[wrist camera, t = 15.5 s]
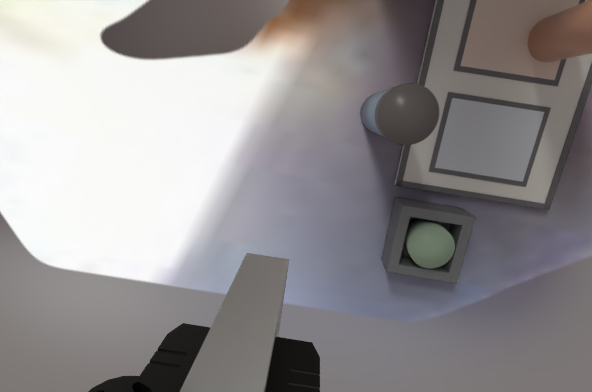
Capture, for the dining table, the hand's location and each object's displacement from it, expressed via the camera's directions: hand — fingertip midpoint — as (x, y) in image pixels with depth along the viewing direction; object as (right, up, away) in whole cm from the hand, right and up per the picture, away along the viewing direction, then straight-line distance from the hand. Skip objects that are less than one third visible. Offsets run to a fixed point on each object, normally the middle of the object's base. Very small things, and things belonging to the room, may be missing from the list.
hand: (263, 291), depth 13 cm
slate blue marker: (+10, +12, +24) cm, 28 cm away
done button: (+15, -1, +25) cm, 29 cm away
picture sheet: (+21, +14, +23) cm, 34 cm away
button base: (+15, -1, +27) cm, 30 cm away
